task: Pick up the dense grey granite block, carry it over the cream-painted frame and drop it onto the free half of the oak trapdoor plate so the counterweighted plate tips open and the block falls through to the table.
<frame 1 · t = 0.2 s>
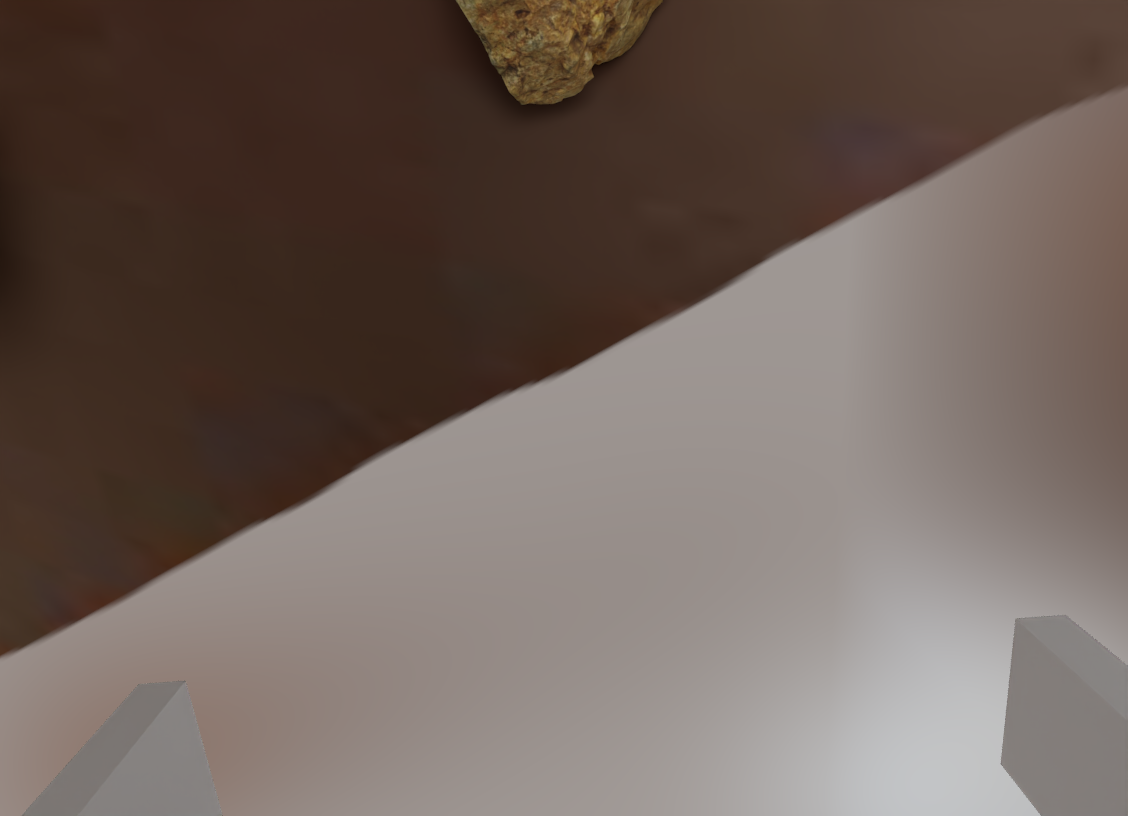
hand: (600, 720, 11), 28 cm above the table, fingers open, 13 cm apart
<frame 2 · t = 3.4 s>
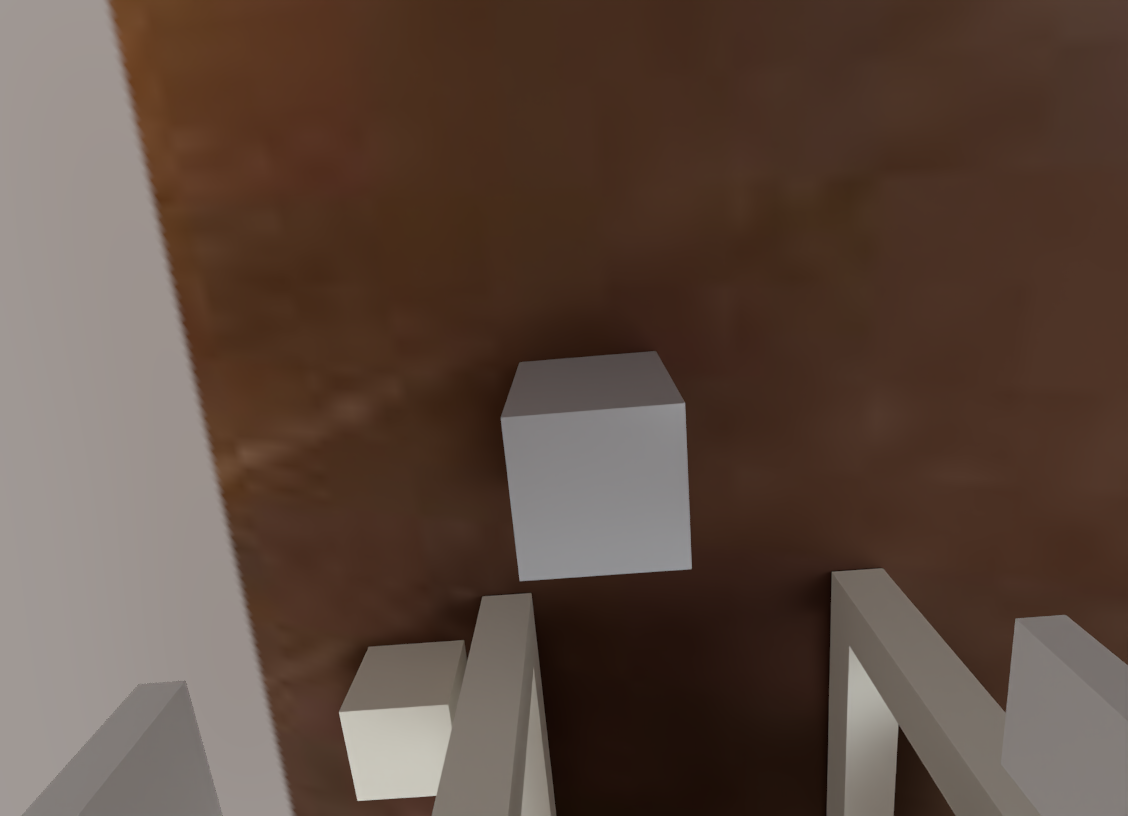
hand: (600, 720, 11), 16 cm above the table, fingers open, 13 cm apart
frame: (688, 765, 31), on the table
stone: (592, 421, 26), on the table
pumice block: (423, 683, 30), on the table
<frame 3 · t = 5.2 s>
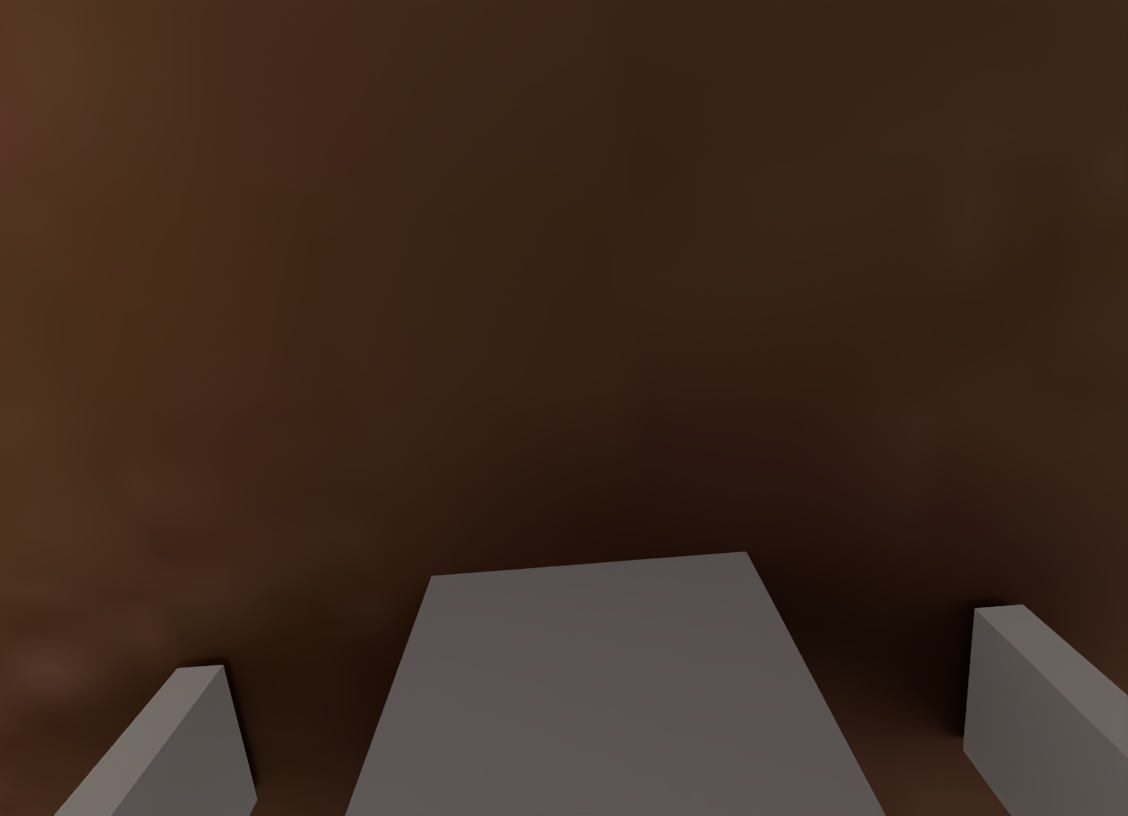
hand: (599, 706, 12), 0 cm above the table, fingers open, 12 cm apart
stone: (599, 696, 12), on the table
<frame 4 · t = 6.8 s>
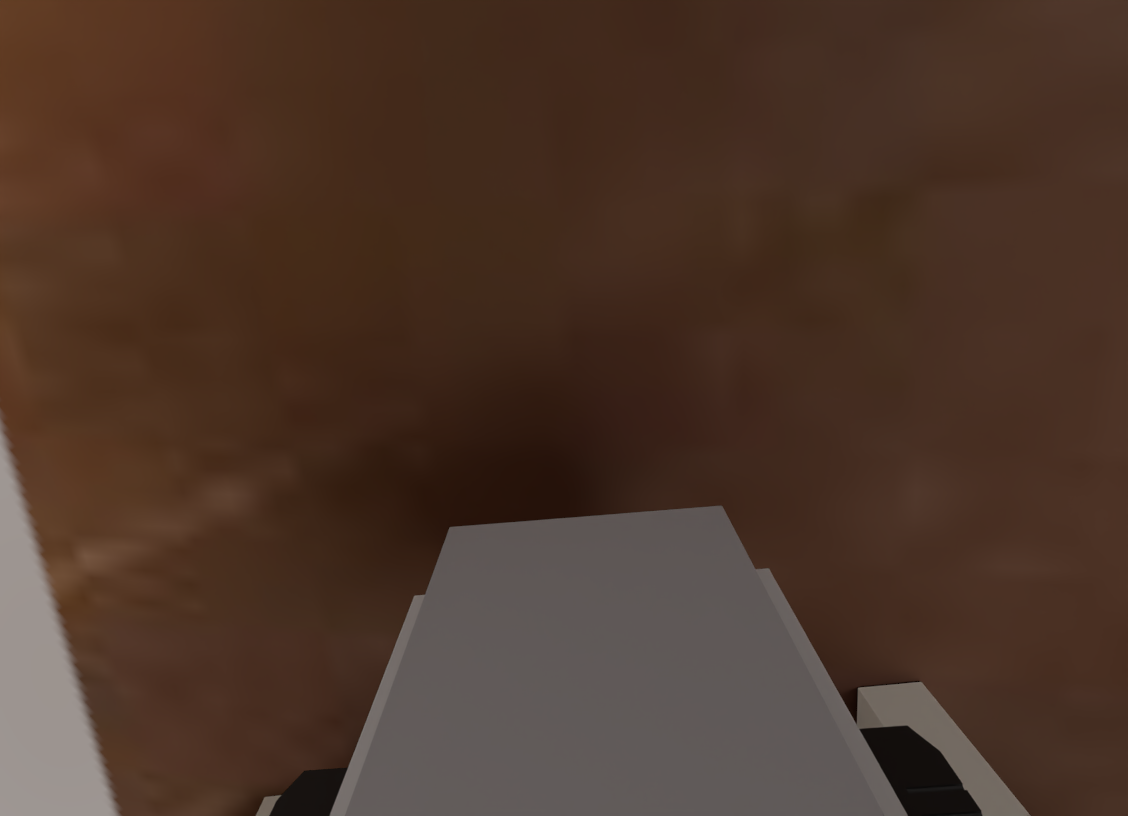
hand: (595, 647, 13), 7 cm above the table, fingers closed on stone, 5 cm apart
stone: (595, 635, 14), point 7 cm above the table, touching gripper
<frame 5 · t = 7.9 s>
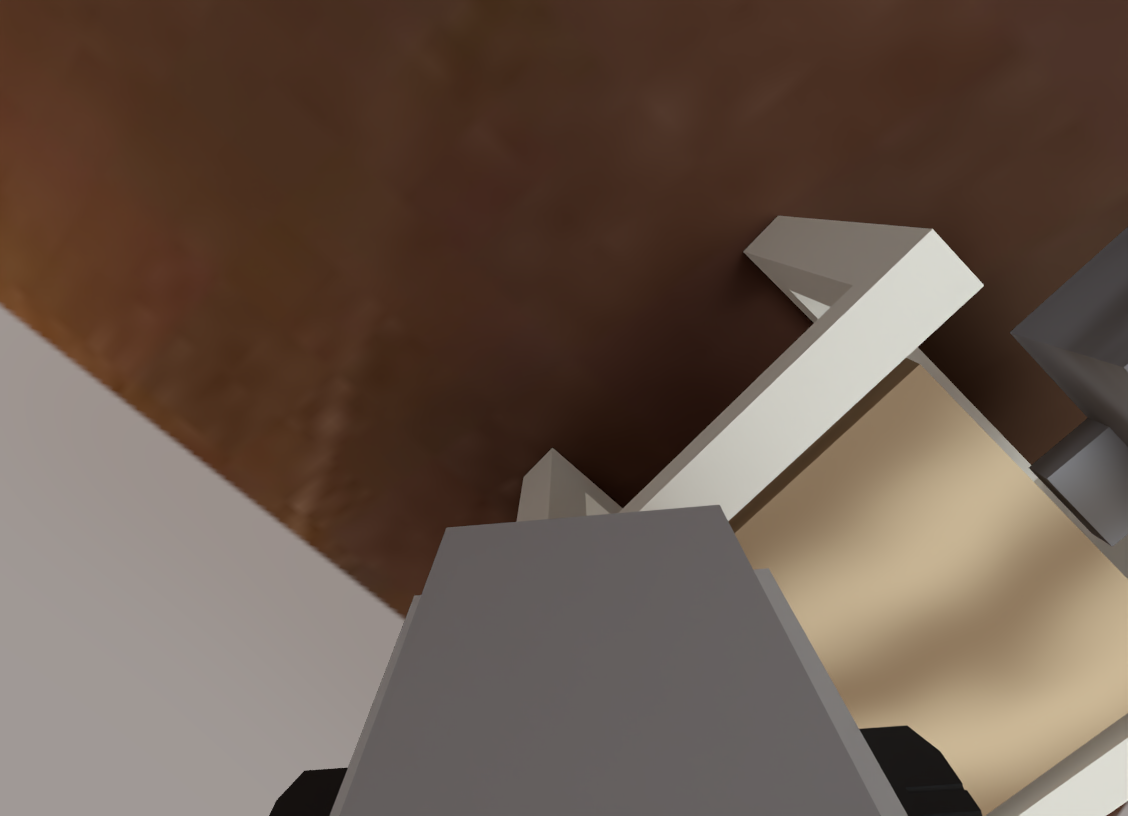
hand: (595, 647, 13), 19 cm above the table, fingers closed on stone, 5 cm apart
frame: (781, 481, 33), on the table
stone: (593, 635, 14), point 19 cm above the table, touching gripper
trapdoor: (1044, 587, 19), point 14 cm above the table, hinge at 0.0°
when the fingers open (15 cm above the table, at t = 9.4 s): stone drops 12 cm and tips over, resting on frame.
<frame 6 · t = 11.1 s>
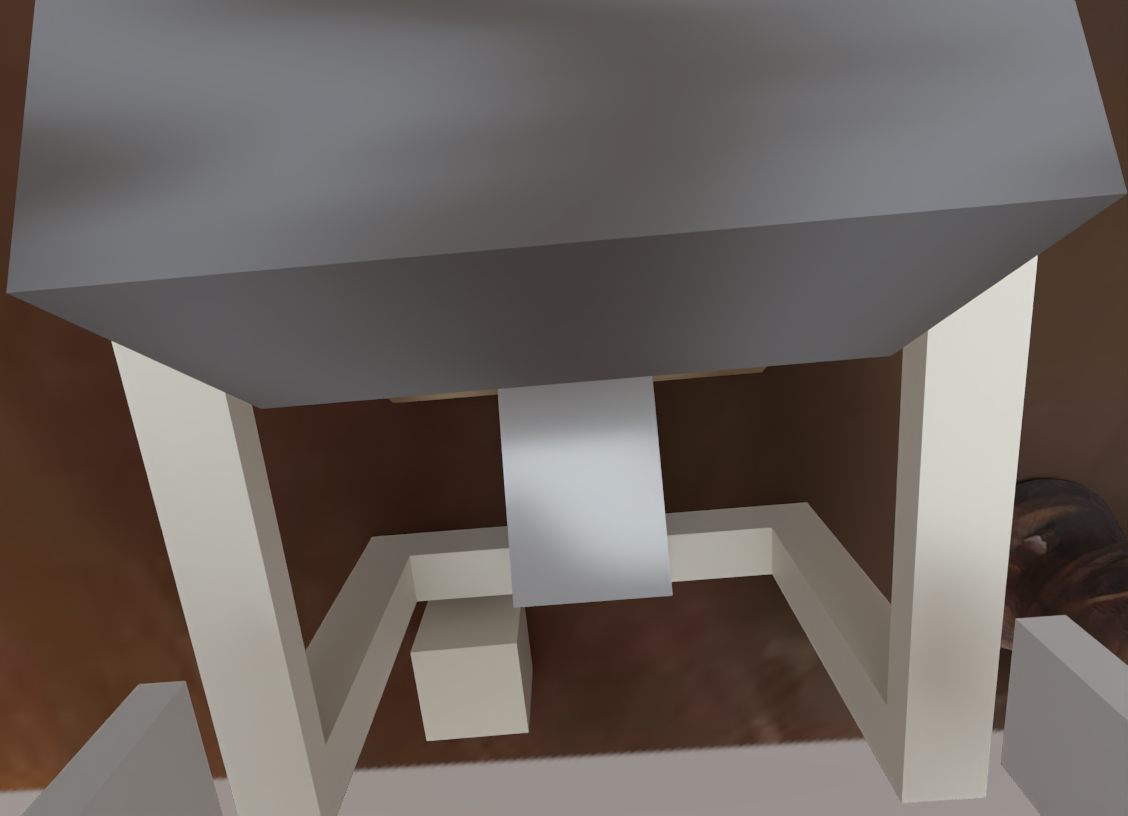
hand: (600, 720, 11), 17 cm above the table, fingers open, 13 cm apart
frame: (576, 378, 27), on the table
mortar and pestle: (997, 528, 29), on the table
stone: (575, 388, 25), point 2 cm above the table, tilted 69°, touching frame
trapdoor: (570, 341, 16), point 11 cm above the table, hinge at 61.8°
pumice block: (482, 632, 31), on the table
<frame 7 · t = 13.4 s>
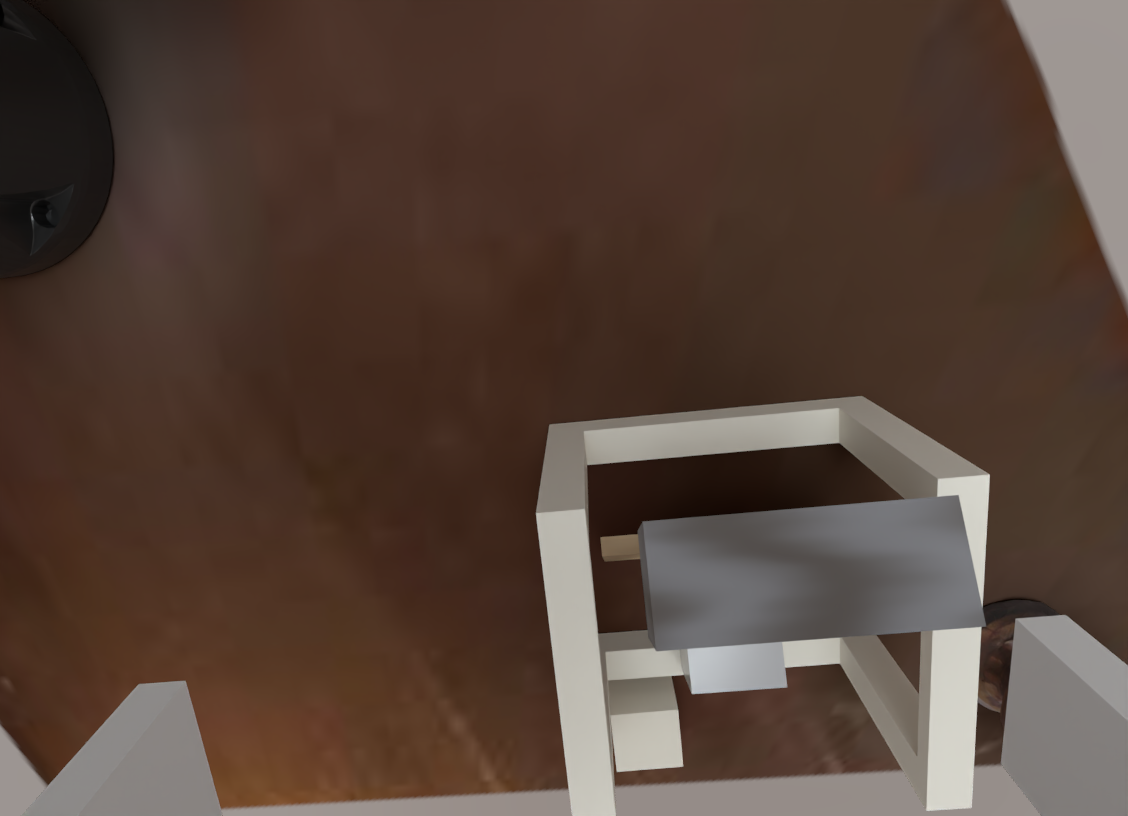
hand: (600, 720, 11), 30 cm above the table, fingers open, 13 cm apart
frame: (710, 537, 43), on the table
mortar and pestle: (988, 630, 44), on the table
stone: (717, 551, 40), point 2 cm above the table, tilted 69°, touching frame, trapdoor
trapdoor: (752, 573, 31), point 11 cm above the table, hinge at 61.8°, touching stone
pumice block: (641, 697, 46), on the table
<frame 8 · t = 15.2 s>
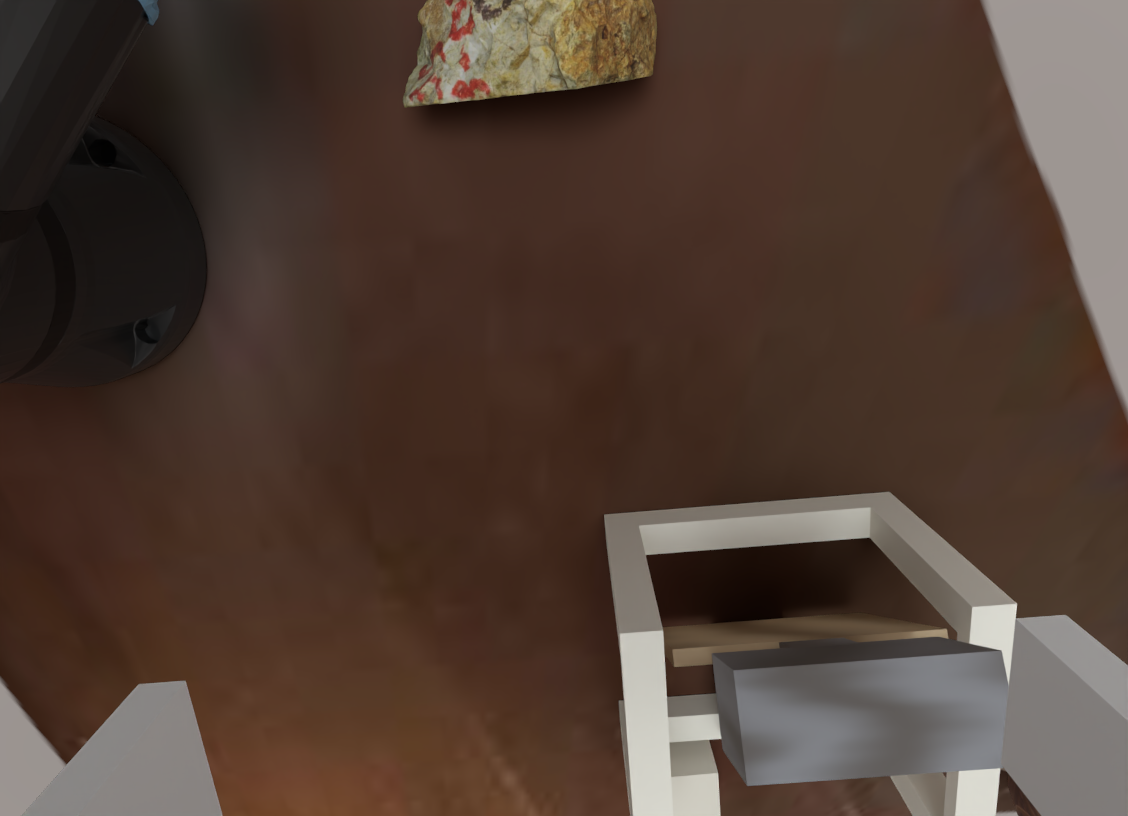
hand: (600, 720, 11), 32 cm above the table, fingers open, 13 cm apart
frame: (747, 614, 47), on the table
mortar and pestle: (995, 695, 49), on the table
trapdoor: (803, 677, 35), point 11 cm above the table, hinge at 61.8°, touching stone
rock: (522, 25, 37), on the table
pumice block: (679, 754, 50), on the table
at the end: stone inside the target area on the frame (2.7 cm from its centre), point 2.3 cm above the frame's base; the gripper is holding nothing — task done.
